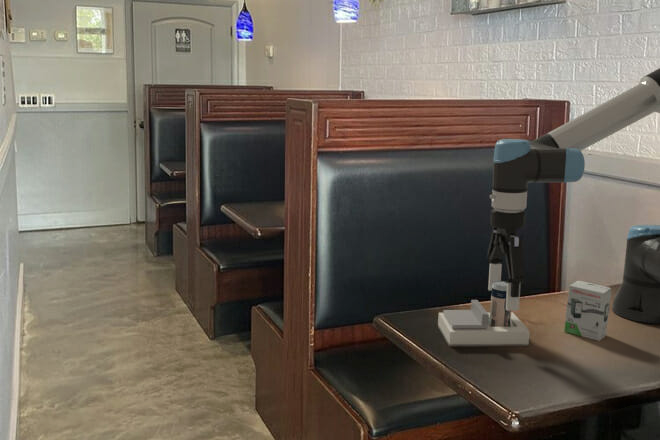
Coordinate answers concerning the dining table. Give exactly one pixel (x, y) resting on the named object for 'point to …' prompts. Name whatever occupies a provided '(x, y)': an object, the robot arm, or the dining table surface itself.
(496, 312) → the beer can
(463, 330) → the socket plate
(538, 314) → the dining table surface
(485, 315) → the shutter
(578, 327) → the ink box
